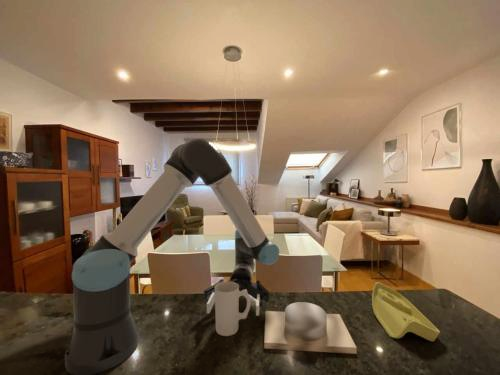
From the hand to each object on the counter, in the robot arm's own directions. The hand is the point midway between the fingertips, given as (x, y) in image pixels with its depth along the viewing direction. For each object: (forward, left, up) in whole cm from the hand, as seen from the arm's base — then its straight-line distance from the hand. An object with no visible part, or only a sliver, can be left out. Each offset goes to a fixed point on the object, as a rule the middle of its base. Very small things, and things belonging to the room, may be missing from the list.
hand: (232, 309), depth 63 cm
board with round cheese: (+20, +2, -6) cm, 21 cm away
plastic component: (+48, +9, -7) cm, 50 cm away
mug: (0, +2, -7) cm, 7 cm away
